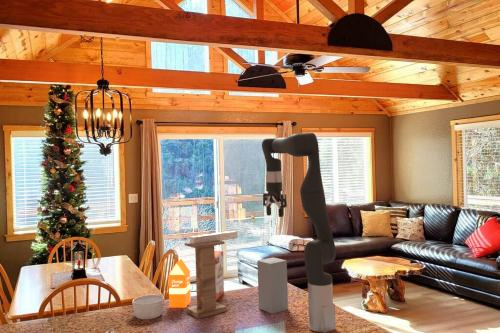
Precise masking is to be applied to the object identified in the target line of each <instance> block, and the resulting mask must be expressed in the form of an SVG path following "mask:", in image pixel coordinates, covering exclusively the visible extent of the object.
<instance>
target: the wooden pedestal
mask: <svg viewBox="0 0 500 333" xmlns="http://www.w3.org/2000/svg"><path fill="white" fill-rule="evenodd" d="M220 245H225V240H222V241H215V242H208V243H202V244H195V245H194V244H190V241H187V242H184V246H186V247H190V248H194V249H195V251H194V252H195V253H194V254H195V255H194V256H195V283H196V284H195V285H196V287H195V288H196V289H195V290H196V305H193V306H192V305H191V306H187V307H186V313H187V314H189V315H191V316H193V317H194V318H196V319H198V320H199V319H203V318H206V317H210V316H213V315H217V314H220V313H224V312H227V308H228V306H226V305H224V304H222V303H220V302H217V301H216V286H215V254H214V251H215V246H220Z"/></svg>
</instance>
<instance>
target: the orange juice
mask: <svg viewBox="0 0 500 333" xmlns="http://www.w3.org/2000/svg"><path fill="white" fill-rule="evenodd" d="M190 273H191V270H190V269H189V267H188V266H187V265H186V264H185V262H184V261H183V259H182V258H181V259H179V260H177V262H176V263H175V265H174V266H173V268H172V269H171V271H170V272H169V274H168V295H169V296H168V298H169V308H188V306H187V305H190V302H192V301H191V300H192V298H191V274H190Z"/></svg>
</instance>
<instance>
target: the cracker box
mask: <svg viewBox="0 0 500 333" xmlns="http://www.w3.org/2000/svg"><path fill="white" fill-rule="evenodd" d="M214 254H215V286H216V302H217V300H219V298H221V297H222V296H223V294H224V293H225V282H224V281H225V277H224V273H225V272H224V271H225V270H224V251H223V250H214Z"/></svg>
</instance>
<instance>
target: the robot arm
mask: <svg viewBox="0 0 500 333" xmlns="http://www.w3.org/2000/svg"><path fill="white" fill-rule="evenodd" d="M261 150H262V152H263V156H264V160H265V166H266V167H265V169H266V170H265V191H266V192H265V193H262V206H263V207H265V208H266V210H265V211H266V216H268V217H269V216H272V205H273V204H275V205H276V206H277V208H278V211H277V212H278V217H279V218H284V212H285V211H284V209H285V208H287V206H288V203H287V194H285V193H283V194H282V191H283V175H282V160H281V159H280V158H276V157H273V155H272V154H287V155H290V156H292V157H296V158H300V157H301V158H302V157H303V158H304V157H307V161H308V164H307V171H306V173H305V176H304V178H303V180H302V183H301V185H300V189H299V195H300V199H301V200H300V202H301V206H302V209H303V212H304V213H305V214H306V215H307V218H309V220H310V221H311V223H312V224H313V226H314V229H315V233H316V235H317V240H312V241H308V242H307V243H306V244H305V246H304V251H303V253H304V254H303V255H304V268H305V275H306V278H307V294H308V295H307V296H308V297H307V298H308V299H307V300H308V328H309V330H311V331H314V332H317V333H329V332H331V331H335V330H336V329H337V326H336V325H337V324H336V322H337V321H336V304H335V303H334V294H333V292H334V290H333V289H334V288H333V287H334V286H333V276H332V274H330V273H328V272H325V271H324V266H323V265H327V264H331V263H333V262H334V261H335V259H336V256H337V249H336V244H335V241H334V236H333V233H332V230H331V225H330V219H329V214H328V209H327V201H326V200H327V199H326V194H325V189H324V184H323V179H322V178H323V177H322V172H321V171H322V170H321V163H320V161H321V160H320V149H319V140H318V138H317V135H316V134H315V133H314V132H300V133H293V134H292V135H289V136H288V137H282V136H281V137H266V138H264V139H263V140H262V142H261Z"/></svg>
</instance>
